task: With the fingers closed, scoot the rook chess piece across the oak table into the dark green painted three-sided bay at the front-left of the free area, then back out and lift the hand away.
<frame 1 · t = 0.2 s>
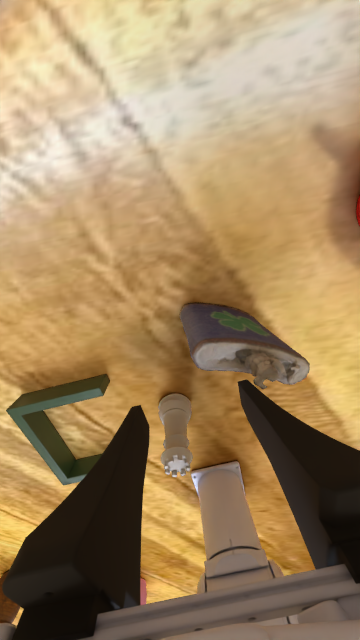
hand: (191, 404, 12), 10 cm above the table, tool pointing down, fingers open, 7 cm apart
rook chess piece: (174, 403, 25), on the table
utensil holder: (18, 574, 39), on the table
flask: (218, 317, 21), on the table, touching gripper
bay: (91, 423, 25), on the table
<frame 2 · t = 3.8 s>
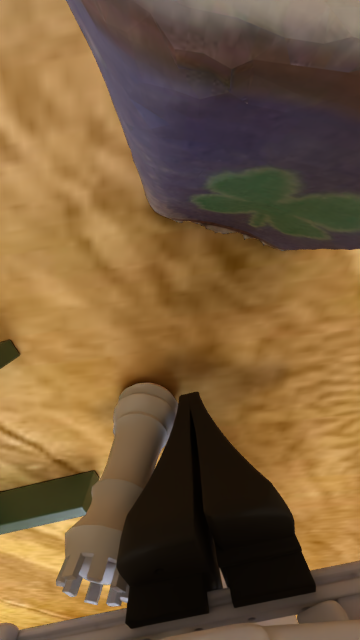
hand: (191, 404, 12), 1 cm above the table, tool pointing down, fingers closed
rook chess piece: (150, 400, 14), on the table, touching gripper
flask: (232, 210, 10), on the table
bay: (2, 435, 14), on the table
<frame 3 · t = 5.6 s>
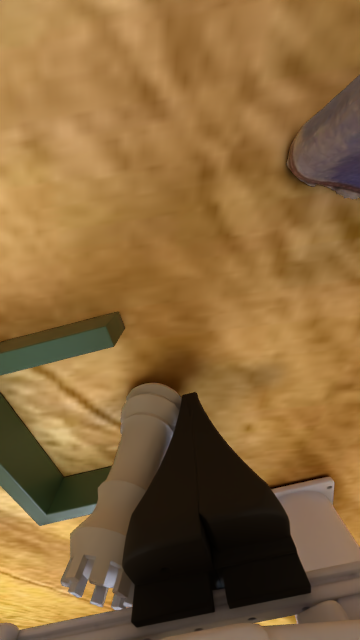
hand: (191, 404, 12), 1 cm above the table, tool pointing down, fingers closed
rook chess piece: (158, 401, 14), on the table, touching gripper
bay: (89, 414, 14), on the table
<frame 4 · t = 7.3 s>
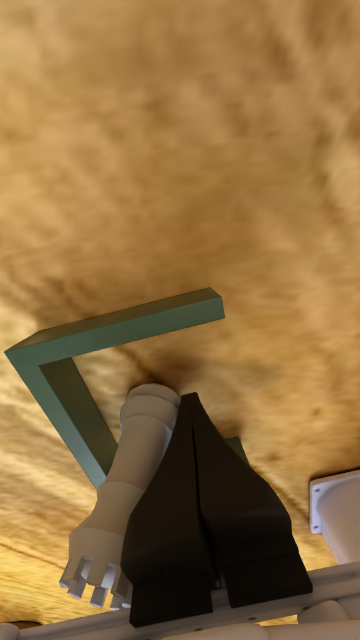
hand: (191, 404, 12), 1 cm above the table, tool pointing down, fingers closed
rook chess piece: (157, 401, 14), on the table, touching gripper
utensil holder: (24, 626, 27), on the table
bay: (163, 396, 14), on the table
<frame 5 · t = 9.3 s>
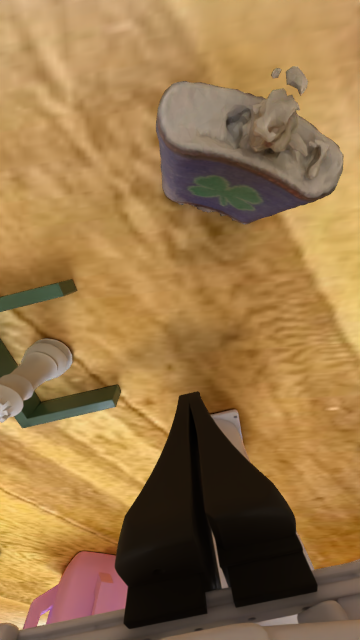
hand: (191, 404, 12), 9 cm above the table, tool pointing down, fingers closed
teakettle: (98, 568, 39), on the table
rook chess piece: (55, 353, 21), on the table
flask: (213, 197, 17), on the table
bay: (57, 352, 21), on the table
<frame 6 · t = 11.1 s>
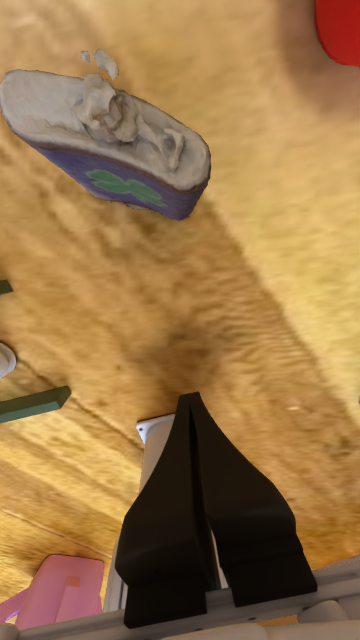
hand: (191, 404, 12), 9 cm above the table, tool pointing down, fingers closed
teakettle: (72, 572, 38), on the table
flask: (142, 194, 16), on the table
bay: (1, 353, 20), on the table
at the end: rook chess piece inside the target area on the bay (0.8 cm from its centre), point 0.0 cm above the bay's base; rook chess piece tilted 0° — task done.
